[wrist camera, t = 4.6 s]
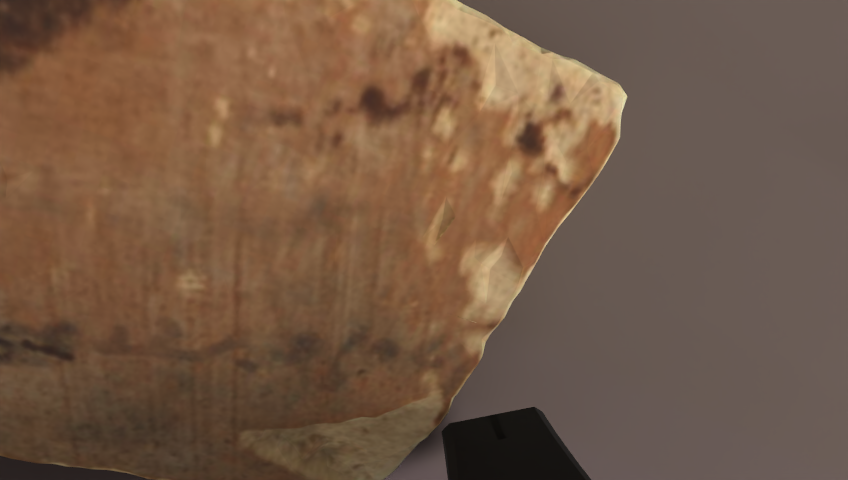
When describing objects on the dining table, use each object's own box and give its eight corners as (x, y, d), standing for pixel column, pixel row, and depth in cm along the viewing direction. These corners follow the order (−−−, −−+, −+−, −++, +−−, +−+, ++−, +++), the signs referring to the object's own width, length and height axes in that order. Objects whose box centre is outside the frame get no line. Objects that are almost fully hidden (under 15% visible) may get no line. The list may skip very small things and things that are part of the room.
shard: (-583, 246, 8) (-779, 361, 7) (-780, -743, 5) (-1272, -970, 3) (367, 440, 12) (380, 540, 10) (633, -30, 8) (709, 18, 7)
